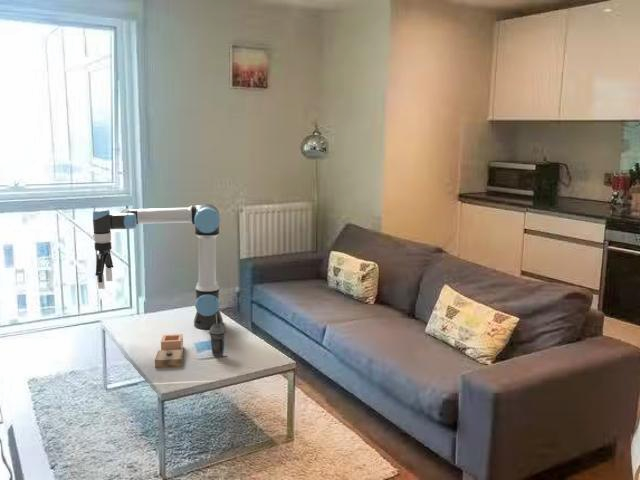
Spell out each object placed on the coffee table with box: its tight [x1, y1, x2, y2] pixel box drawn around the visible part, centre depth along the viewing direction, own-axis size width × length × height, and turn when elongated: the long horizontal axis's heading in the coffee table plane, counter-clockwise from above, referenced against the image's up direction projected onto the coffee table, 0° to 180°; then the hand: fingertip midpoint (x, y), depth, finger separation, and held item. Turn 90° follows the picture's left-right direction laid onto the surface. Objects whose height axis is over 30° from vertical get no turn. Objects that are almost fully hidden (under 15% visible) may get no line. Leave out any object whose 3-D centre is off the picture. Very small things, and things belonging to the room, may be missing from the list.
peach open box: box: [160, 333, 184, 350], centre depth 272 cm, size 9×9×7 cm
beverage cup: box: [209, 314, 226, 358], centre depth 267 cm, size 7×7×20 cm
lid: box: [154, 348, 184, 369], centre depth 260 cm, size 11×11×4 cm
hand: (105, 284), depth 285 cm, fingers open, 13 cm apart
